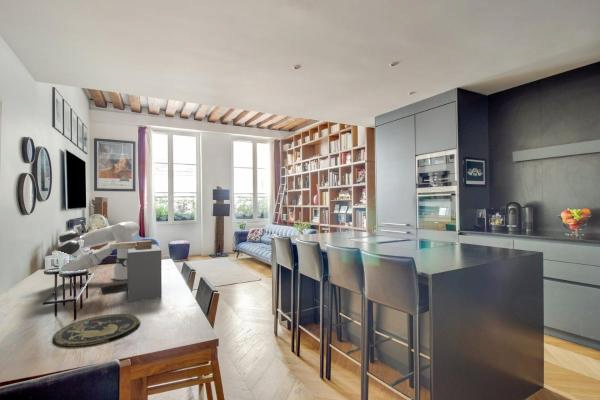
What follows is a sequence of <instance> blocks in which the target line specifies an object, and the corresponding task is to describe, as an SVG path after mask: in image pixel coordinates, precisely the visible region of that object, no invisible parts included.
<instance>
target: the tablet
mask: <svg viewBox="0 0 600 400" xmlns="http://www.w3.org/2000/svg"><path fill="white" fill-rule="evenodd" d="M100 291H101V295H102V296H104V295H111V294H116V293H117V294H119V293H124V292H128V290H127V282H126V283H119V284H113V285H107V286H101V287H100Z"/></svg>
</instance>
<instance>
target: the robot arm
mask: <svg viewBox="0 0 600 400" xmlns="http://www.w3.org/2000/svg"><path fill="white" fill-rule="evenodd" d="M139 232H140V225H139V224H138V223H137V222H134V221H130V220H129V221H122V222H118V223H116V224H113V225H108V226H105V227H101V228H97V229H94V230H90V231H88V232H86V233H84V234H82V232H78V231H75V230H69V231H65V232H63V233H62V234H60V235H59V237H58V241H59V243H60V244H59V245H57V246H55V248H54V250H53V252H54V251H61V252H64V253H67V254H70V255H72V256H78V255H82V256H80V257H78V258H75V259H74V260H72V261H70V262H69V263H67V264H66V265H62V266H61V267H62V268H61V267H60V268H61V270H62V271H78V270H84V269H88V270H89V269H92V268H95V267H96V266H98V265H99V264H101V263H102V262H103V260H104V259H106V258H107V257H109V256H110V255H111V254H112V253H113V251H114V250H117V251H116V252H117V253H116V264H115V266H114V267H113V275H112V276H111V277H110V279H111V280H127V248H124V249H115V248H117V247H119V246H120V245H119V243H124V242H134V241H133V237H134V236H136V235H137V234H138V233H139ZM80 239H82V240H84V247H85V248H91V249H90V250H88V251H86V253H85V252H84V250H83V249H82V248H81V247H80V245H79V243H78V242H77V241H76V240H80ZM114 242H115V243H117V244H115V245H113V246H111V243H114ZM101 245H104V246H102V247H101V248H99V249H98V248H97V249H94V248H93V249H92V247H97V246H101ZM65 278H66V279H68V280H71V279H74V278H73V277H72V278H69V277H65Z"/></svg>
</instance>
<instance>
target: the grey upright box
mask: <svg viewBox="0 0 600 400" xmlns="http://www.w3.org/2000/svg"><path fill="white" fill-rule="evenodd" d="M126 281H127V282H126V283H127V290H128V291H127V292H128V295H127V297H128V298H127V299H128V301H127V302H128V303H132V302H133V303H134V302H140V301H146V300H152V299H159V298H160V299H161V298H163V297H162V294H163V293H162V289H163V288H162V286H163V285H162V249H161V248H160V247H159V245H158V244H152V248H149V249H136V248H127V279H126Z"/></svg>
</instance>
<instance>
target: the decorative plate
mask: <svg viewBox="0 0 600 400" xmlns="http://www.w3.org/2000/svg"><path fill="white" fill-rule="evenodd" d="M140 326H141V320H140V318H139V317H138V316H136V315H133V314H127V313H126V314H125V313H114V314H105V315H97V316H92V317H88V318H86V319H85V318H84V319H82V320H77V321H75V322H73V323H70V324H68V325H65V326H64V327H62V328H60V329H59V330H57V331H56V333H54V335H53V337H52V342H53V344H54V345H56V347H57V346H58V347H61V348H86V347H93V346H98V345H99V346H100V345H102V344H107V343H110V342H113V341H116V340H119V339H123V338H124V337H126V336H128V335H131V334H133V333H134V332H135V331H137V330H138V329H139V328H140Z"/></svg>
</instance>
